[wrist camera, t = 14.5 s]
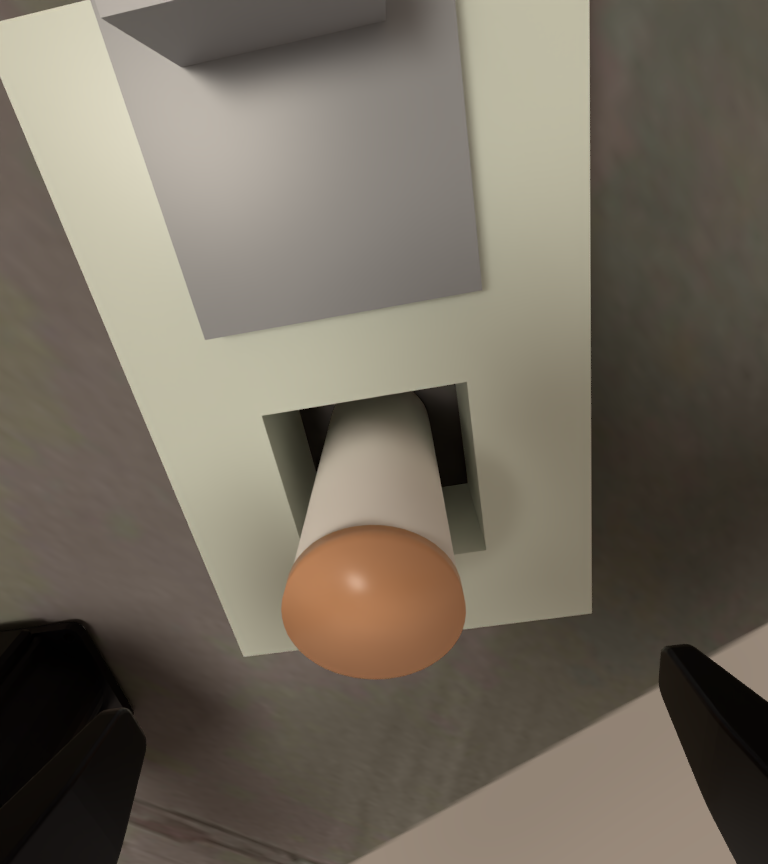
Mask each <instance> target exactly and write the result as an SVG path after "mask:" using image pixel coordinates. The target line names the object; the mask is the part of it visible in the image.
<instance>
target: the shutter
mask: <svg viewBox="0 0 768 864" xmlns="http://www.w3.org/2000/svg"><path fill="white" fill-rule="evenodd" d="M90 1H91V4H92V7H93V10H94V13H95V16H96V19H97V22H98V25H99V28H100V31H101V34H102V37H103V40H104V43H105V46H106V49H107V52H108V55H109V58H110V60H111V63H112V66H113V69H114V72H115V75H116V78H117V81H118V84H119V87H120V90H121V93H122V96H123V99H124V102H125V105H126V108H127V111H128V114H129V117H130V120H131V123H132V126H133V128H134V131H135V134H136V137H137V140H138V143H139V146H140V149H141V152H142V155H143V158H144V161H145V164H146V167H147V170H148V173H149V176H150V179H151V182H152V185H153V188H154V191H155V194H156V196H157V199H158V202H159V205H160V208H161V211H162V214H163V217H164V220H165V223H166V226H167V229H168V232H169V235H170V238H171V241H172V244H173V247H174V250H175V253H176V256H177V259H178V262H179V265H180V267H181V270H182V273H183V276H184V279H185V282H186V285H187V288H188V291H189V294H190V297H191V300H192V303H193V306H194V309H195V312H196V315H197V318H198V321H199V324H200V327H201V330H202V333H203V335H204V338H205V340H209V339H214V338H220V337H225V336H231V335H236V334H242V333H248V332H253V331H259V330H264V329H270V328H275V327H281V326H286V325H292V324H298V323H303V322H309V321H314V320H320V319H325V318H331V317H336V316H342V315H348V314H353V313H359V312H364V311H370V310H375V309H381V308H386V307H392V306H397V305H403V304H409V303H414V302H420V301H425V300H431V299H436V298H442V297H447V296H453V295H459V294H464V293H470V292H475V291H481V290H482V282H481V271H480V260H479V250H478V239H477V228H476V218H475V207H474V196H473V186H472V175H471V164H470V154H469V143H468V133H467V122H466V111H465V101H464V90H463V79H462V69H461V58H460V47H459V37H458V26H457V15H456V5H455V0H90Z"/></svg>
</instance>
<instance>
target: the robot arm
mask: <svg viewBox="0 0 768 864" xmlns="http://www.w3.org/2000/svg"><path fill="white" fill-rule="evenodd" d="M659 688H660V692H661V695H662V697H663V700H664V703H665V705H666V707H667V710H668V712H669V715H670V717H671V720H672V722H673V725H674V727H675V729H676V732H677V735H678V737H679V739H680V742H681V744H682V747H683V749H684V752H685V754H686V757H687V759H688V762H689V764H690V766H691V768H692V771H693V774H694V776H695V779H696V781H697V784H698V786H699V788H700V791H701V793H702V795H703V798H704V800H705V802H706V804H707V807H708V809H709V811H710V813H711V815H712V817H713V819H714V821H715V822H716V824H717V827H718V829H719V830H720V832H721V834H722V836H723V838H724V840H725V842H726V844H727V846H728V848H729V850H730V852H731V853H732V855H733V857H734V859H735V861H736V863H737V864H768V702H767V701H766V700H765V699H763V698H762V697H761V696H759V695H758V694H756V693H755V692H754V691H753V690H751V689H750V688H749V687H747V686H746V685H745V684H743V683H742V682H741V681H739V680H738V679H737V678H735V677H734V676H733V675H731V674H730V673H728V672H727V671H726V670H725V669H723V668H722V667H721V666H719V665H718V664H717V663H715V662H714V661H713V660H711V659H710V658H709V657H707V656H706V655H705V654H703V653H702V652H701V651H699V650H698V649H697V648H695V647H693V646H691V645H689V644H680V645H672V646H665V647H664V648H663V649H662V651H661V657H660V670H659ZM133 714H134V712H133V710H132V708H131V706H130V704H129V703H128V701H127V699H126V698H125V696H124V694H123V693H122V691H121V689H120V687H119V686H118V684H117V682H116V681H115V679H114V677H113V676H112V674H111V672H110V671H109V669H108V667H107V665H106V664H105V662H104V660H103V659H102V657H101V655H100V654H99V652H98V650H97V648H96V647H95V645H94V643H93V642H92V640H91V638H90V637H89V635H88V633H87V632H86V630H85V628H84V627H83V626H82V625H80V624H78V623H75V622H67V623H60V624H52V625H45V626H37V627H30V628H23V629H15V630H8V631H0V864H117V861H118V858H119V855H120V852H121V848H122V844H123V841H124V837H125V833H126V829H127V825H128V821H129V817H130V813H131V809H132V805H133V801H134V797H135V793H136V788H137V784H138V780H139V776H140V772H141V768H142V764H143V760H144V756H145V752H146V738H145V735H144V733H143V731H142V730H141V728H140V726H139V725H138V723H137V721H136V720H135V718H134V716H133Z"/></svg>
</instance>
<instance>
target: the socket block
mask: <svg viewBox="0 0 768 864" xmlns="http://www.w3.org/2000/svg"><path fill="white" fill-rule="evenodd" d="M455 5H456V15H457V26H458V37H459V47H460V58H461V69H462V79H463V90H464V101H465V111H466V122H467V133H468V143H469V154H470V164H471V175H472V186H473V196H474V207H475V218H476V228H477V239H478V250H479V260H480V271H481V282H482V290H481V291H475V292H470V293H464V294H459V295H453V296H447V297H442V298H436V299H431V300H425V301H420V302H414V303H409V304H403V305H397V306H392V307H386V308H381V309H375V310H370V311H364V312H359V313H353V314H348V315H342V316H336V317H331V318H325V319H320V320H314V321H309V322H303V323H298V324H292V325H286V326H281V327H275V328H270V329H264V330H259V331H253V332H248V333H242V334H236V335H231V336H225V337H220V338H214V339H209V340H205V338H204V335H203V333H202V330H201V327H200V324H199V321H198V318H197V315H196V312H195V309H194V306H193V303H192V300H191V297H190V294H189V291H188V288H187V285H186V282H185V279H184V276H183V273H182V270H181V267H180V265H179V262H178V259H177V256H176V253H175V250H174V247H173V244H172V241H171V238H170V235H169V232H168V229H167V226H166V223H165V220H164V217H163V214H162V211H161V208H160V205H159V202H158V199H157V196H156V194H155V191H154V188H153V185H152V182H151V179H150V176H149V173H148V170H147V167H146V164H145V161H144V158H143V155H142V152H141V149H140V146H139V143H138V140H137V137H136V134H135V131H134V128H133V126H132V123H131V120H130V117H129V114H128V111H127V108H126V105H125V102H124V99H123V96H122V93H121V90H120V87H119V84H118V81H117V78H116V75H115V72H114V69H113V66H112V63H111V60H110V58H109V55H108V52H107V49H106V46H105V43H104V40H103V37H102V34H101V31H100V28H99V25H98V22H97V19H96V16H95V13H94V10H93V7H92V4H91V1H90V0H86V1H82V2H77V3H73V4H69V5H65V6H61V7H57V8H53V9H49V10H45V11H40V12H36V13H32V14H28V15H24V16H20V17H16V18H12V19H8V20H4V21H0V77H1V80H2V82H3V84H4V87H5V89H6V92H7V94H8V96H9V99H10V101H11V103H12V106H13V108H14V111H15V113H16V115H17V118H18V120H19V122H20V125H21V127H22V130H23V132H24V134H25V137H26V139H27V142H28V144H29V146H30V149H31V151H32V153H33V156H34V158H35V161H36V163H37V165H38V168H39V170H40V173H41V175H42V177H43V180H44V182H45V184H46V187H47V189H48V192H49V194H50V196H51V199H52V201H53V203H54V206H55V208H56V211H57V213H58V215H59V218H60V220H61V223H62V225H63V227H64V230H65V232H66V234H67V237H68V239H69V242H70V244H71V246H72V249H73V251H74V254H75V256H76V258H77V261H78V263H79V265H80V268H81V270H82V273H83V275H84V277H85V280H86V282H87V284H88V287H89V289H90V292H91V294H92V296H93V299H94V301H95V304H96V306H97V308H98V311H99V313H100V315H101V318H102V320H103V323H104V325H105V327H106V330H107V332H108V335H109V337H110V339H111V342H112V344H113V346H114V349H115V351H116V354H117V356H118V358H119V361H120V363H121V365H122V368H123V370H124V373H125V375H126V377H127V380H128V382H129V385H130V387H131V389H132V392H133V394H134V396H135V399H136V401H137V404H138V406H139V408H140V411H141V413H142V416H143V418H144V420H145V423H146V425H147V427H148V430H149V432H150V435H151V437H152V439H153V442H154V444H155V446H156V449H157V451H158V454H159V456H160V458H161V461H162V463H163V466H164V468H165V470H166V473H167V475H168V477H169V480H170V482H171V485H172V487H173V489H174V492H175V494H176V497H177V499H178V501H179V504H180V506H181V508H182V511H183V513H184V516H185V518H186V520H187V523H188V525H189V528H190V530H191V532H192V535H193V537H194V539H195V542H196V544H197V547H198V549H199V551H200V554H201V556H202V558H203V561H204V563H205V566H206V568H207V570H208V573H209V575H210V578H211V580H212V582H213V585H214V587H215V589H216V592H217V594H218V597H219V599H220V601H221V604H222V606H223V609H224V611H225V613H226V616H227V618H228V620H229V623H230V625H231V628H232V630H233V632H234V635H235V637H236V639H237V642H238V644H239V647H240V649H241V651H242V654H243V656H244V657H247V656H255V655H263V654H271V653H279V652H287V651H295V650H299V649H298V648H297V647H296V646H295V645H294V644H293V642H292V641H291V639H290V638H289V636H288V634H287V632H286V630H285V627H284V624H283V620H282V612H281V606H282V598H283V594H284V591H285V587H286V583H287V579H288V575H289V572H290V570H291V568H292V566H293V564H294V561H295V557H296V553H297V549H298V545H299V541H300V538H301V534H302V530H303V526H304V522H305V518H306V514H307V510H308V506H309V502H310V498H311V494H312V490H313V486H314V482H315V478H316V470H315V466H314V463H313V459H312V455H311V452H310V448H309V444H308V441H307V437H306V433H305V430H304V426H303V422H302V419H301V415H300V411H299V410H300V409H306V408H312V407H318V406H324V405H330V404H336V403H342V402H348V401H354V400H360V399H366V398H372V397H378V396H384V395H390V394H396V393H403V392H409V391H415V390H421V389H427V388H433V387H439V386H445V385H451V384H455V385H456V393H457V401H458V409H459V417H460V425H461V433H462V441H463V449H464V457H465V465H466V473H467V480H468V483H465V484H458V485H452V486H445V487H442V492H443V498H444V503H445V509H446V514H447V520H448V525H449V531H450V536H451V542H452V547H453V552H454V558H455V563H456V569H457V571H458V573H459V576H460V579H461V583H462V588H463V593H464V599H465V604H466V617H465V623H464V627H463V629H471V628H479V627H487V626H495V625H503V624H511V623H519V622H527V621H535V620H543V619H551V618H559V617H567V616H575V615H583V614H591V613H592V527H591V283H590V40H589V0H455Z"/></svg>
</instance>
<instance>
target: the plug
mask: <svg viewBox="0 0 768 864" xmlns="http://www.w3.org/2000/svg"><path fill="white" fill-rule="evenodd" d="M281 612H282V620H283V624H284V627H285V630H286V632H287V634H288V636H289V638H290V639H291V641H292V642H293V644H294V645H295V646H296V647H297V648H298V649H299V651H301V652H302V653H303V654H304V655H305V656H306V657H307V658H309V659H310V660H312V661H313V662H314V663H316V664H318V665H320V666H321V667H323V668H325V669H328V670H330V671H332V672H335V673H338V674H342V675H345V676H349V677H354V678H362V679H389V678H395V677H401V676H405V675H409V674H412V673H415V672H417V671H420V670H422V669H424V668H426V667H428V666H430V665H432V664H433V663H435V662H436V661H438V660H439V659H441V658H442V657H443V656H444V655H445V654H447V652H448V651H449V650H450V649H451V648H452V647H453V646H454V644H455V643H456V641H457V640H458V638H459V636H460V634H461V632H462V630H463V627H464V623H465V617H466V604H465V599H464V593H463V588H462V583H461V579H460V576H459V573H458V571H457V569H456V563H455V558H454V552H453V547H452V542H451V536H450V531H449V525H448V520H447V514H446V509H445V503H444V498H443V492H442V487H441V482H440V476H439V471H438V465H437V460H436V454H435V449H434V443H433V438H432V432H431V427H430V422H429V417H428V413H427V410H426V408H425V406H424V404H423V402H422V401H421V400H420V398H419V397H418V396H417V395H416V394H415V393H414V392H412V391H409V392H403V393H396V394H390V395H384V396H378V397H372V398H366V399H360V400H354V401H348V402H342V403H336V405H335V407H334V409H333V412H332V415H331V419H330V423H329V427H328V431H327V435H326V439H325V443H324V447H323V451H322V455H321V459H320V463H319V467H318V470H317V474H316V478H315V482H314V486H313V490H312V494H311V498H310V502H309V506H308V510H307V514H306V518H305V522H304V526H303V530H302V534H301V538H300V541H299V545H298V549H297V553H296V557H295V561H294V564H293V566H292V568H291V570H290V572H289V575H288V579H287V583H286V587H285V591H284V594H283V598H282V606H281Z"/></svg>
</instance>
